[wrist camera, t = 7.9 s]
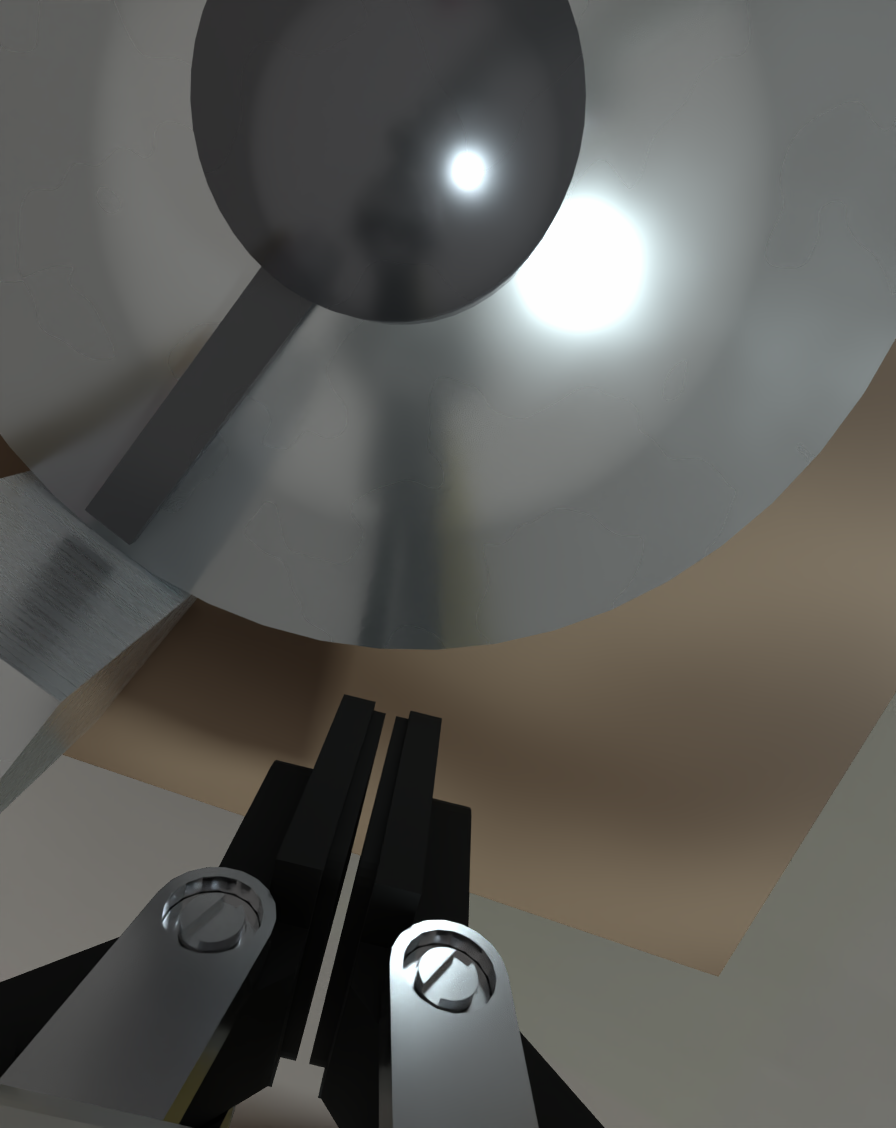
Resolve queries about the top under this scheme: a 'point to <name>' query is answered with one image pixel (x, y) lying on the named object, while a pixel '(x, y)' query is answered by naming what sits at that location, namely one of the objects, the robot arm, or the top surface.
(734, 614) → the base plate
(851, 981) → the top surface
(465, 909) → the robot arm
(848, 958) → the top surface
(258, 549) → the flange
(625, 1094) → the top surface
